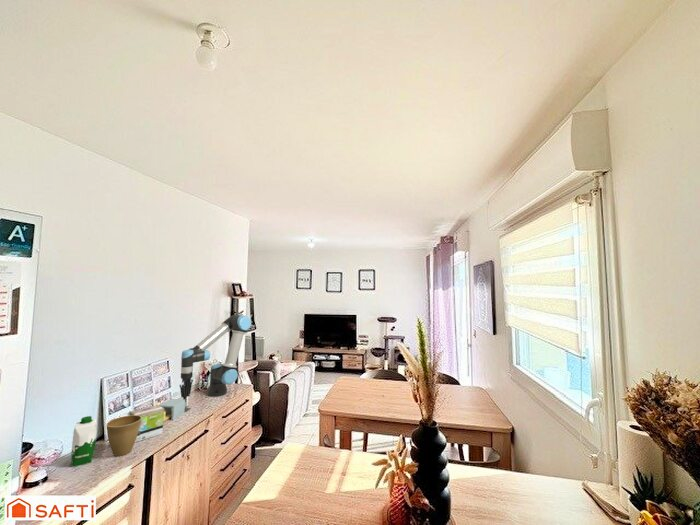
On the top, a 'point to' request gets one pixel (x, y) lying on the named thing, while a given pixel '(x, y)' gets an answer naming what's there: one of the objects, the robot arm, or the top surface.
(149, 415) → the tea box
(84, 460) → the milk carton
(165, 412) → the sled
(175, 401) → the tunnel
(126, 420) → the plant pot
